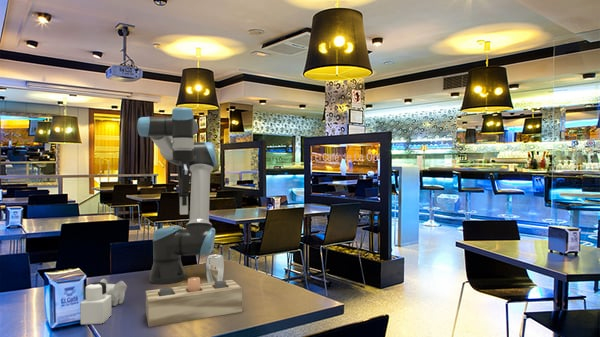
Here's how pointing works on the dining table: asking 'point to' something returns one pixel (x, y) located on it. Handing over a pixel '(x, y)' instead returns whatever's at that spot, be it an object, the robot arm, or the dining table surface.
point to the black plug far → (219, 284)
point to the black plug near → (166, 291)
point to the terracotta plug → (193, 284)
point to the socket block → (192, 303)
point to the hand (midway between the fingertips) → (184, 214)
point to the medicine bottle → (95, 304)
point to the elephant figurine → (115, 292)
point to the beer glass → (214, 268)
